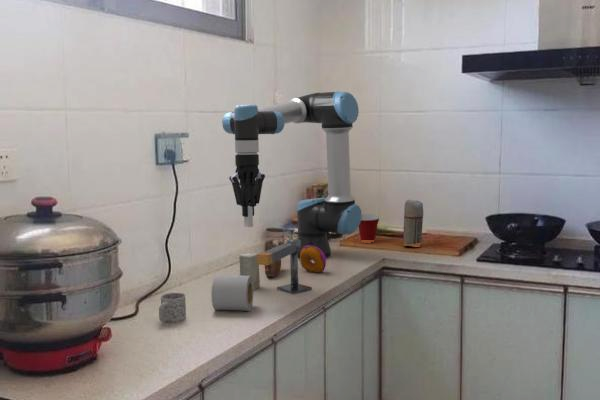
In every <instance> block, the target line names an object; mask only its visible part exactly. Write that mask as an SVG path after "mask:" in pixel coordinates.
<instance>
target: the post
mask: <svg viewBox="0 0 600 400" xmlns="http://www.w3.org/2000/svg"><path fill="white" fill-rule="evenodd" d="M289 256H290V257H289V261H290V262H289V264H290V269H289V270H290V283H289V284H284V285H280V286H277V287H276V290H278V291H281V292H285V293H288V294H292V295H295V294H296V295H297V294H299V293H304V292H307V291H308V292H309V291H311V290H312V289H313V287H312V286H308V285H305V284H302V283H300V282H299V260H298V259H299V258H298V251H296V252H294V253H292V254H290V255H289Z"/></svg>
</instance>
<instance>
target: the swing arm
mask: <svg viewBox="0 0 600 400" xmlns="http://www.w3.org/2000/svg"><path fill="white" fill-rule="evenodd" d="M300 250H301V240H299V239H297V238H291V239H287V240H286V242H284V243H281V244H280V245H278V246H274V247H273V248H270V249H267V250H265V251H262V252H259V253H256V254H257V264H258V265H259V266H260V265H262V266H265V265H270V264H272V263H273V262H275V261H277V260H279V259H281V260H282V259H284V258H285V257H288V256H290V254H292V253H294V252H296V251H300Z"/></svg>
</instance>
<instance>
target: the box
mask: <svg viewBox="0 0 600 400" xmlns="http://www.w3.org/2000/svg"><path fill="white" fill-rule="evenodd" d="M257 254H258V253H249V252H247V253H242V254H239V255H238V256H239V260H238V261H239V276H251V277H252V279H253V288H254V290H255V289H258V288H261V283H260V281H261V280H260V265H258V264H257Z"/></svg>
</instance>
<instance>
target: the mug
mask: <svg viewBox="0 0 600 400" xmlns="http://www.w3.org/2000/svg"><path fill="white" fill-rule="evenodd" d="M158 319H159V322H161V323H166V324H175V323H180V322H184V321H185V320H187V307H186V294H185V293H182V292H168V293H164V294H162V295H161V296H160V305H159V307H158Z"/></svg>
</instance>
